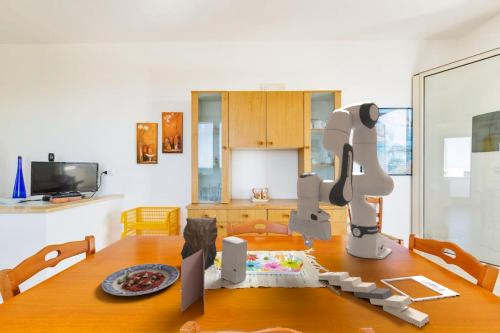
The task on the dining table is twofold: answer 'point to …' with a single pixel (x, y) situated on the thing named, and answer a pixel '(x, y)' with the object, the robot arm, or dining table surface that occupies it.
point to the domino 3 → (360, 287)
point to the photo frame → (427, 283)
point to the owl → (200, 238)
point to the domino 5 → (393, 301)
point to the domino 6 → (408, 314)
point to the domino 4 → (375, 294)
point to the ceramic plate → (140, 279)
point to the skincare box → (233, 259)
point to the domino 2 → (346, 281)
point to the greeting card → (192, 279)
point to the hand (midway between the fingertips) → (308, 246)
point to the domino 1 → (333, 276)
